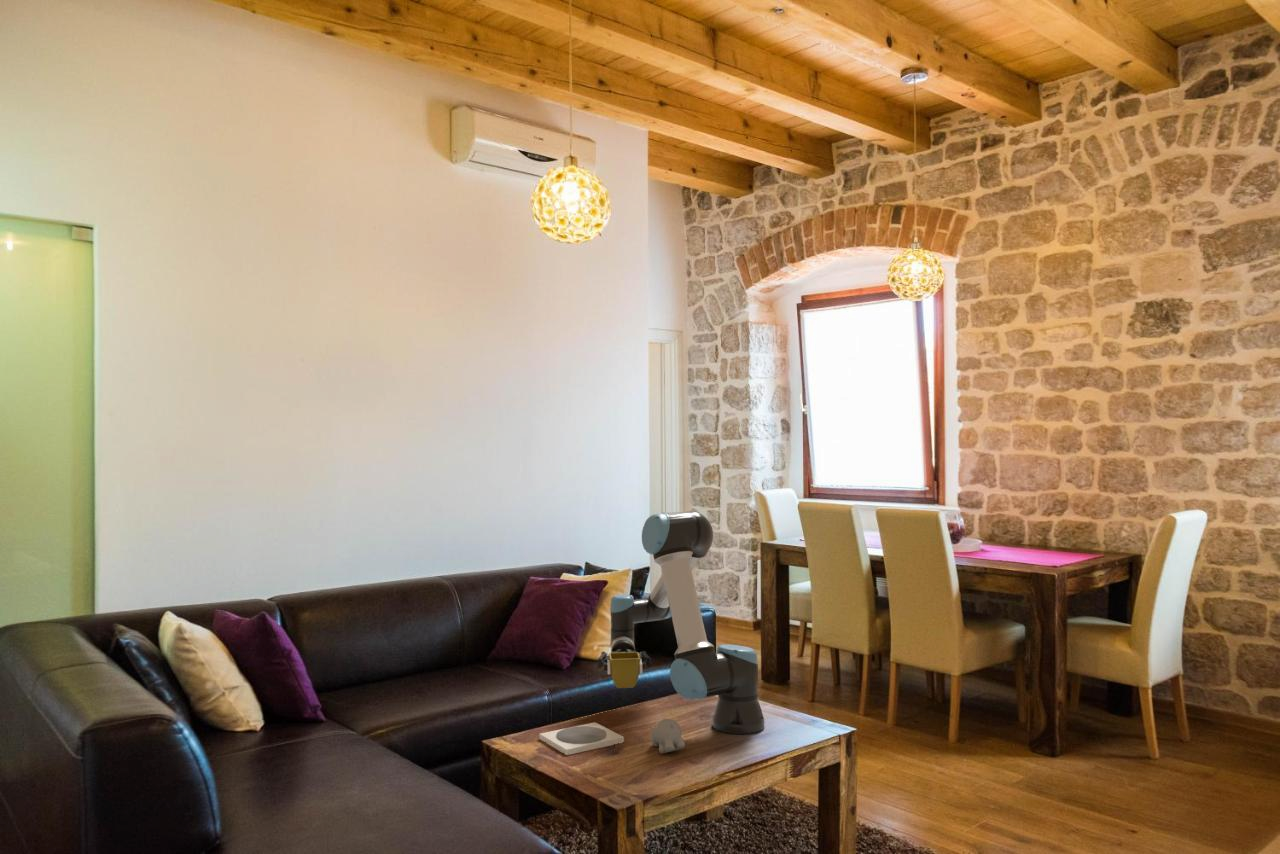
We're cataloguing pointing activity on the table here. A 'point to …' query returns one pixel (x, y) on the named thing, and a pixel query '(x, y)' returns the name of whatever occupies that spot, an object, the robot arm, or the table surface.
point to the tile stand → (581, 738)
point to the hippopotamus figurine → (667, 736)
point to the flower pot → (625, 668)
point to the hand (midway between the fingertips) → (625, 669)
